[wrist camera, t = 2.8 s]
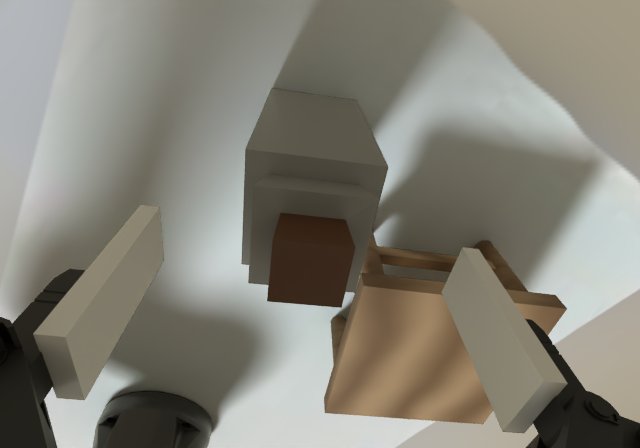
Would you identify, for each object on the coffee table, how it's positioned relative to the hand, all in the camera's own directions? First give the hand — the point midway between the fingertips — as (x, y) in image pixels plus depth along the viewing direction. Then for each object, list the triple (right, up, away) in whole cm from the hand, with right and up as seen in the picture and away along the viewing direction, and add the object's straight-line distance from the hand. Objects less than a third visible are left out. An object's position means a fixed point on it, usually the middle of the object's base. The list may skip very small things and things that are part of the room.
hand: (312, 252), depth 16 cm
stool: (+10, -6, +23) cm, 26 cm away
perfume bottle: (-1, +9, +14) cm, 17 cm away
